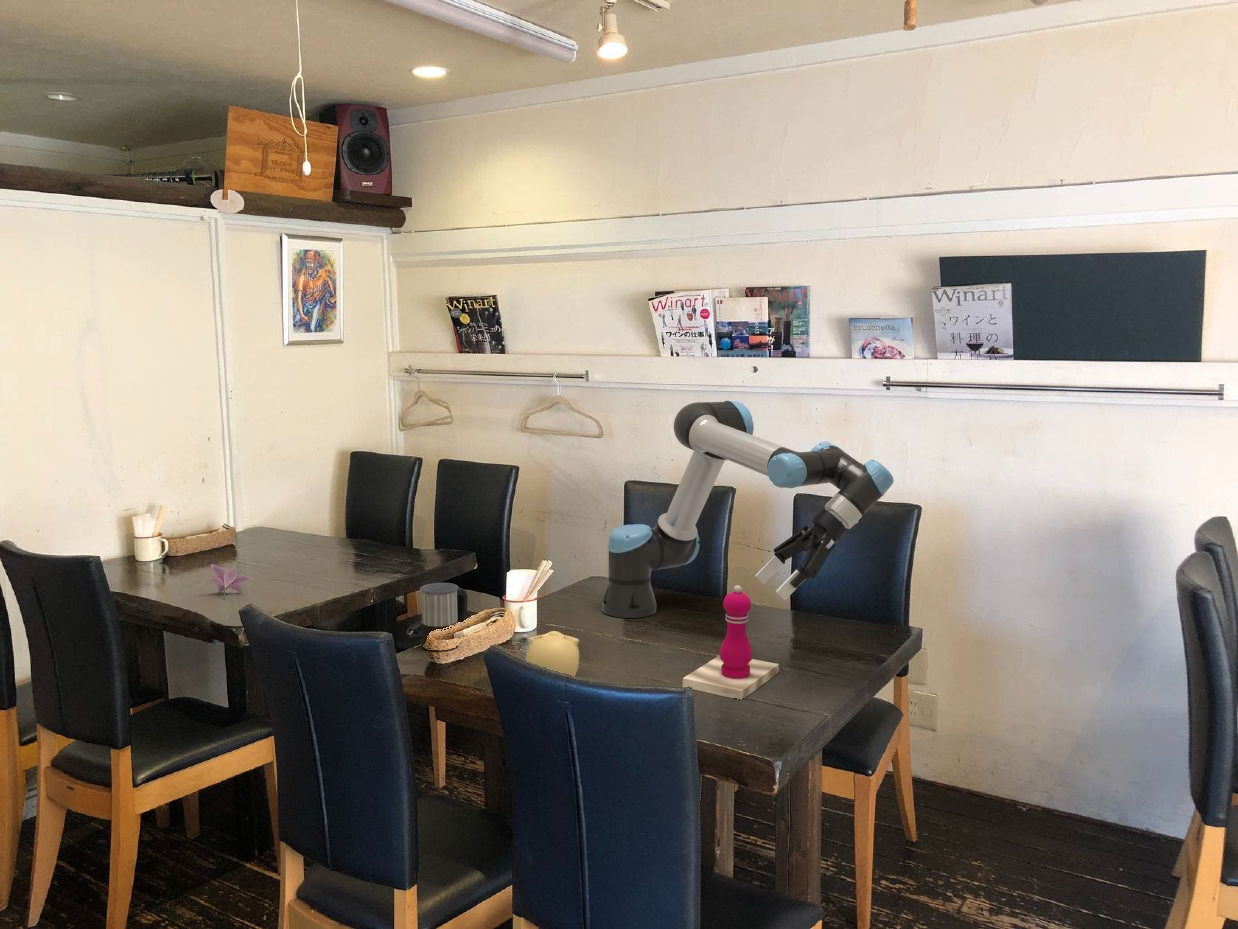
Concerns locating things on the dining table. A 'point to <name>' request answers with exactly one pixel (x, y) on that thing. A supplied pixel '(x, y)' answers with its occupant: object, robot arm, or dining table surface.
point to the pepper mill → (736, 636)
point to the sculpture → (554, 652)
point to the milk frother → (439, 609)
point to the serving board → (730, 679)
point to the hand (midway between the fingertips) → (769, 588)
